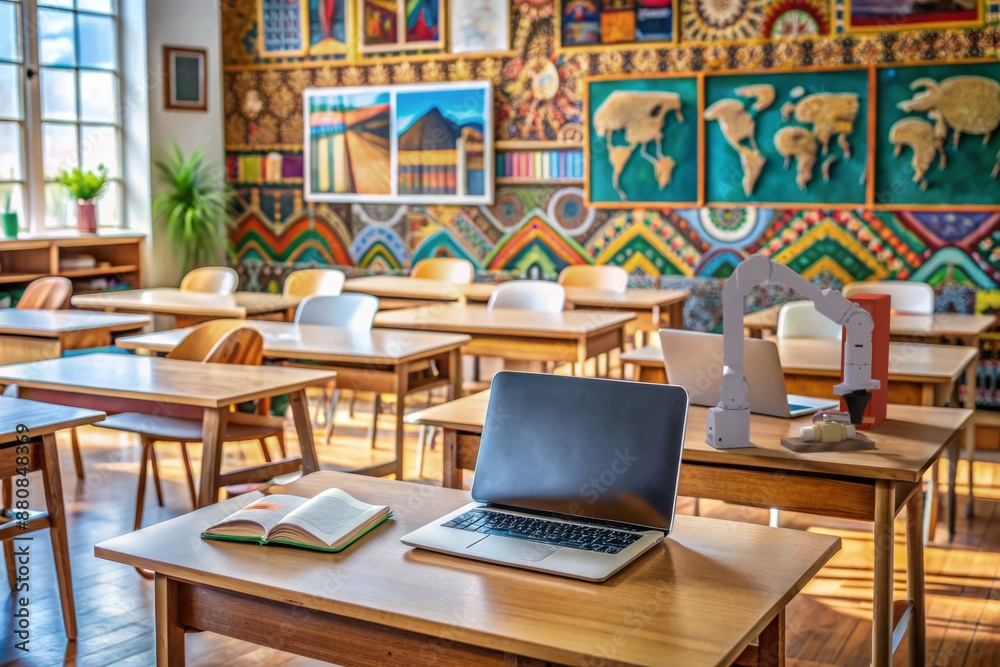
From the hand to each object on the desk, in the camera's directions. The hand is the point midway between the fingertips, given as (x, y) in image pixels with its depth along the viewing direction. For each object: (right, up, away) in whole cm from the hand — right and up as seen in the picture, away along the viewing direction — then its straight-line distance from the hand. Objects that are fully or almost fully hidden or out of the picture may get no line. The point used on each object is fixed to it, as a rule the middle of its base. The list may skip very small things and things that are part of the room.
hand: (856, 423), depth 241 cm
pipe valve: (-5, -6, +5) cm, 9 cm away
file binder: (+12, -3, +32) cm, 34 cm away
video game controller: (+1, -4, +21) cm, 21 cm away
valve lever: (-1, 0, +2) cm, 3 cm away
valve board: (-5, -6, +5) cm, 9 cm away
